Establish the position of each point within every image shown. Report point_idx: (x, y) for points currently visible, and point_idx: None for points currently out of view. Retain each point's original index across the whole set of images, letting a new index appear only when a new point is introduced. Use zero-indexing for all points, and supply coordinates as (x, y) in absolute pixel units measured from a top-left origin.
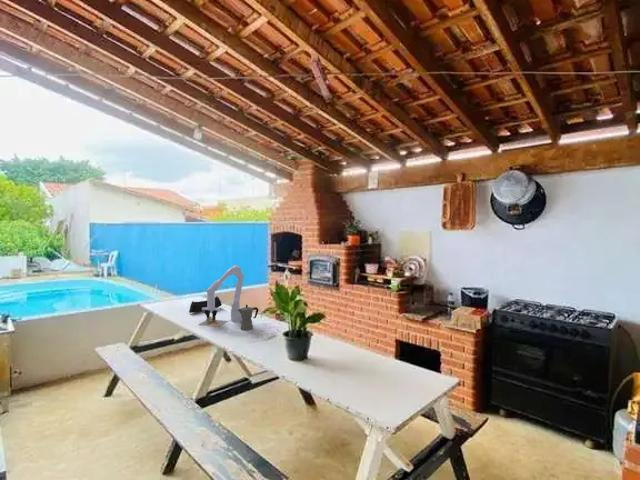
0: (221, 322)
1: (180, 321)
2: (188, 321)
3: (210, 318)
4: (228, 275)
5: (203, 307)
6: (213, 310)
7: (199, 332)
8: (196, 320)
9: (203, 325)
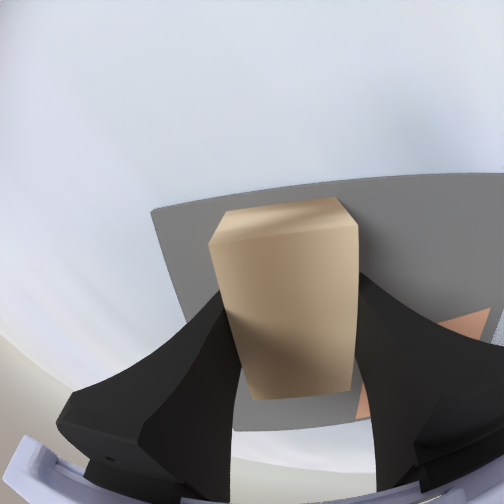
0: (475, 276)
1: (20, 348)
2: (48, 340)
3: (323, 382)
4: None
5: (9, 485)
6: (407, 502)
7: (353, 471)
8: (60, 291)
9: (304, 426)
